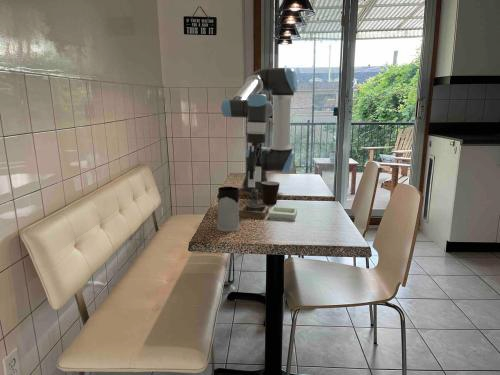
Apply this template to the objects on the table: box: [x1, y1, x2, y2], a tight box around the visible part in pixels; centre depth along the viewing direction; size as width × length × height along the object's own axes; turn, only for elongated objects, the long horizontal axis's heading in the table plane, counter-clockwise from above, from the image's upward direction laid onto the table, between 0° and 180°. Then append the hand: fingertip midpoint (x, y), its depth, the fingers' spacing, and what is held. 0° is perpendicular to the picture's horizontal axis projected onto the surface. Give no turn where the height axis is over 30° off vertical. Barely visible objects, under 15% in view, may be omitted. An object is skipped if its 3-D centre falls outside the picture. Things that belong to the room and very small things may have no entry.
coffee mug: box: [261, 180, 280, 206], centre depth 180 cm, size 12×9×10 cm
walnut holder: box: [239, 204, 270, 219], centre depth 161 cm, size 11×11×2 cm
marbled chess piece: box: [247, 187, 262, 211], centre depth 160 cm, size 6×6×12 cm
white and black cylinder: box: [216, 186, 240, 232], centre depth 143 cm, size 9×14×15 cm, turn 172°
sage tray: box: [268, 206, 298, 222], centre depth 158 cm, size 11×11×2 cm
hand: (254, 184), depth 158 cm, fingers open, 13 cm apart
